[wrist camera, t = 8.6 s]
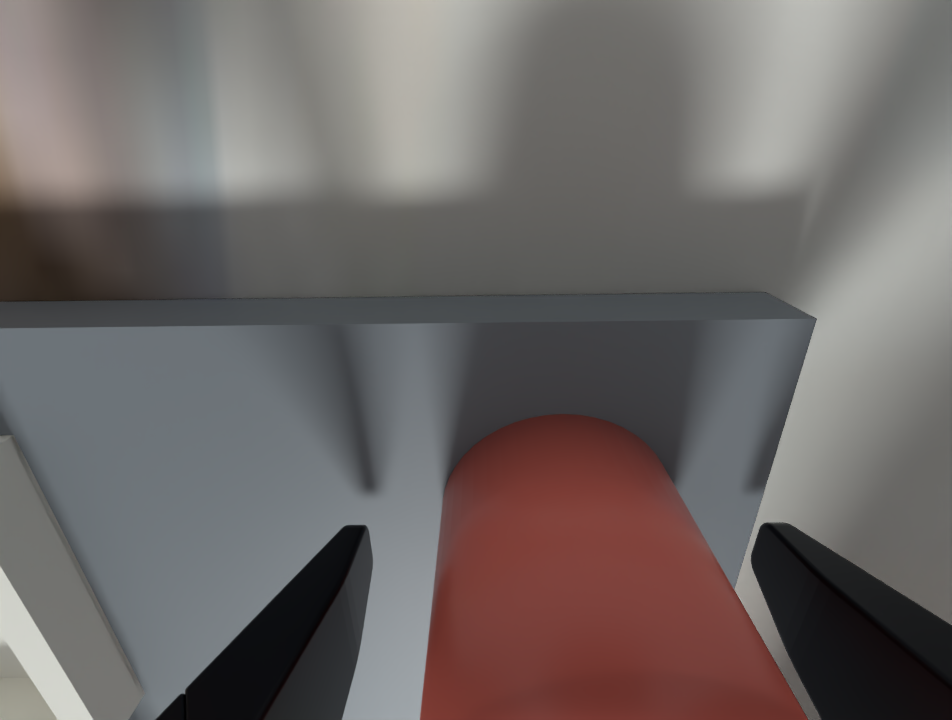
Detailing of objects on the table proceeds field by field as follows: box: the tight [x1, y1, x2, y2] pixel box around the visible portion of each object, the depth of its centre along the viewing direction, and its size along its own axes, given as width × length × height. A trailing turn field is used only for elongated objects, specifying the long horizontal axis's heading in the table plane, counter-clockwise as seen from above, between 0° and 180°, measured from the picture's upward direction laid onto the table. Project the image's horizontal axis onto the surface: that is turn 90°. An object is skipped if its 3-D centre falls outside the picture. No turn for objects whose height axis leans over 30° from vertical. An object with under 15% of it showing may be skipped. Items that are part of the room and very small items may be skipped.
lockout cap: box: [420, 414, 808, 720], centre depth 7 cm, size 4×4×4 cm
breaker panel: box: [0, 292, 817, 720], centre depth 11 cm, size 24×17×3 cm
